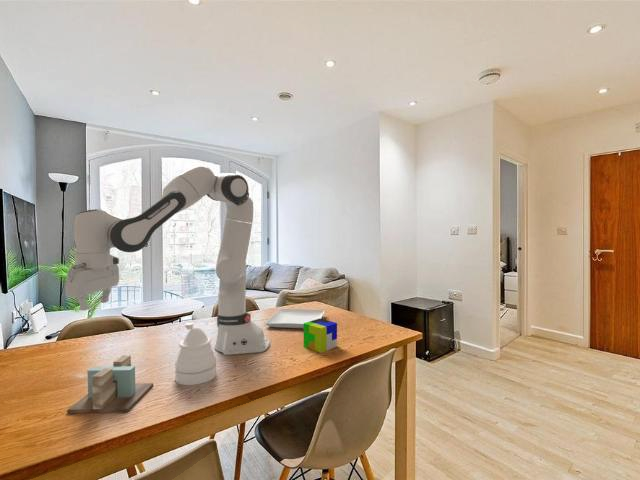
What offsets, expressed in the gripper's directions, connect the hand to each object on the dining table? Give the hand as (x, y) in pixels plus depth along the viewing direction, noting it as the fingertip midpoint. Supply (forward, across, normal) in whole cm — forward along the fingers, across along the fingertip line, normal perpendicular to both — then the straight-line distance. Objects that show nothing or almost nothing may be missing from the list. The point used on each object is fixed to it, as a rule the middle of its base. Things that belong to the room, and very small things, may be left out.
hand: (95, 305), depth 99 cm
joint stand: (+26, -8, -9) cm, 28 cm away
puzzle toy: (+27, +30, -72) cm, 82 cm away
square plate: (+28, +65, -61) cm, 94 cm away
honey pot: (+26, +6, -28) cm, 39 cm away
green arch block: (+25, -8, -8) cm, 27 cm away
